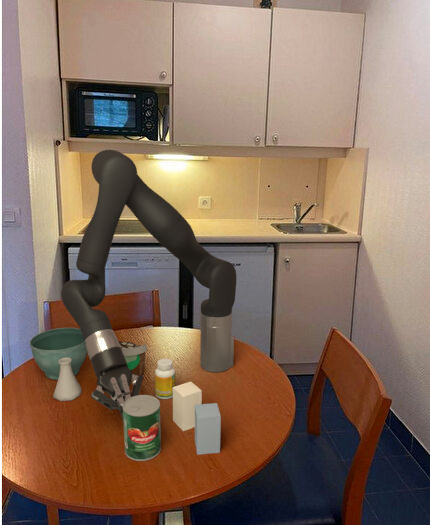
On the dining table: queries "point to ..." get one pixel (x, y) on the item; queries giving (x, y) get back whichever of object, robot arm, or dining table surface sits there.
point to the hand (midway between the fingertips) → (131, 422)
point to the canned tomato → (142, 427)
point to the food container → (134, 356)
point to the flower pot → (58, 350)
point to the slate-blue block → (207, 428)
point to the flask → (66, 382)
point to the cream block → (185, 404)
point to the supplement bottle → (164, 379)
